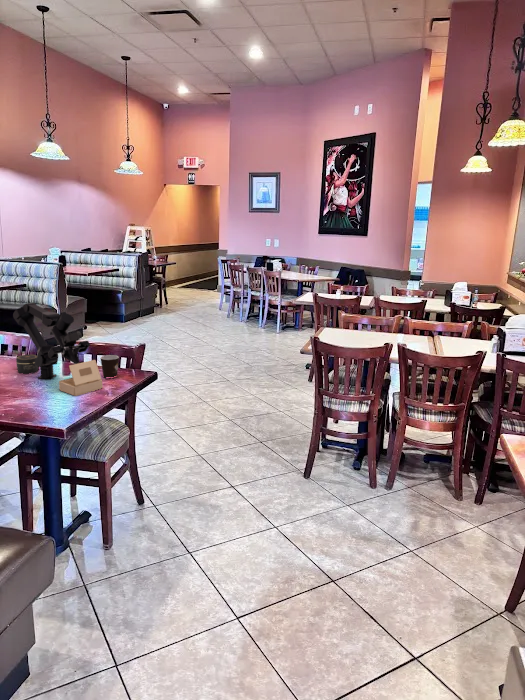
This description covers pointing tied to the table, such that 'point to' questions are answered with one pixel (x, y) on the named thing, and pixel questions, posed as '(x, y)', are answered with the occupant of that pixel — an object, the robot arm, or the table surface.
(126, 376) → the table surface
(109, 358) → the coffee mug
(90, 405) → the table surface
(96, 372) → the flap
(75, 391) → the kraft box
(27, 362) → the jar
